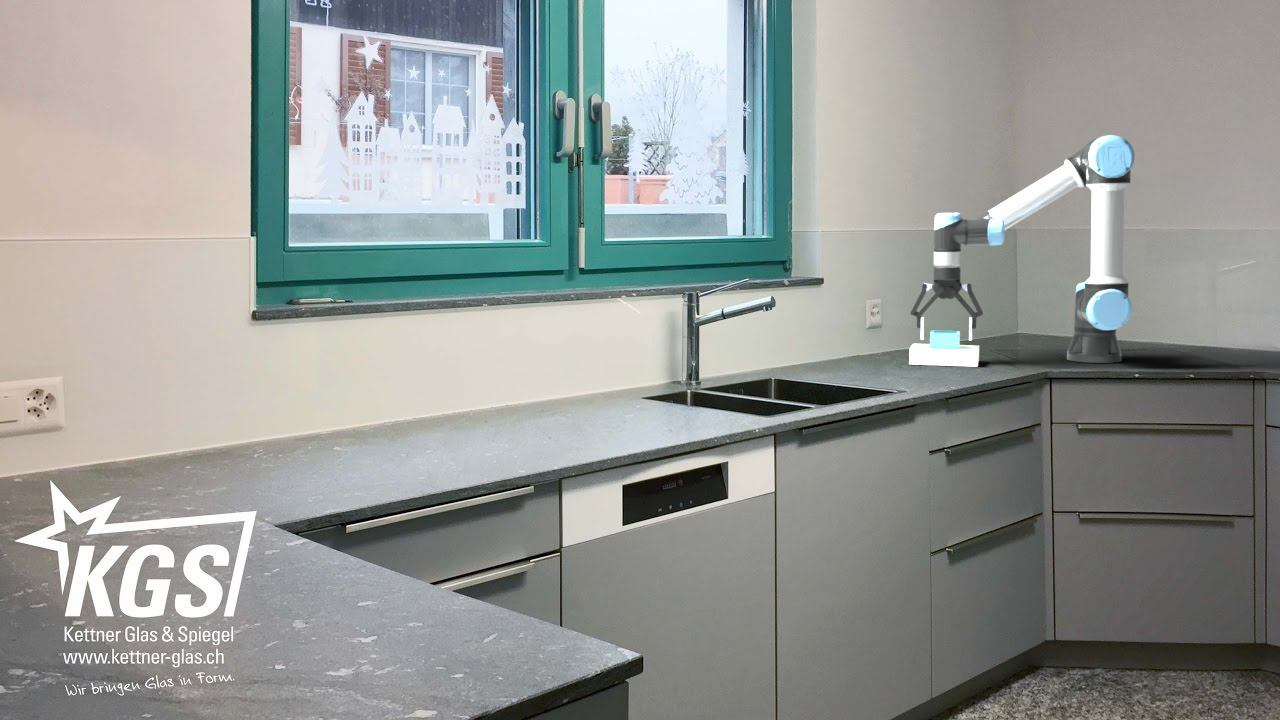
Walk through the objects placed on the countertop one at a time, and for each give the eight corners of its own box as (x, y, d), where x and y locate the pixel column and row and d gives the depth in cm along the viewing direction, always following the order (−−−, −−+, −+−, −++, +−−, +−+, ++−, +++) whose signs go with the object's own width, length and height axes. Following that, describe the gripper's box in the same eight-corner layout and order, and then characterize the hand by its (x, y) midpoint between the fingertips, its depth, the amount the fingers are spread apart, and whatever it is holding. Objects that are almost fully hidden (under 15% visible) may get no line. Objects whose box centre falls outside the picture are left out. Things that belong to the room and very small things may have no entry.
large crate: (978, 360, 356) (979, 345, 355) (977, 366, 343) (977, 350, 342) (912, 358, 361) (913, 343, 361) (909, 364, 348) (909, 348, 348)
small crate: (959, 358, 355) (960, 330, 354) (958, 361, 347) (958, 333, 346) (931, 357, 357) (932, 330, 356) (929, 360, 349) (930, 332, 348)
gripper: (992, 265, 349) (991, 338, 351) (904, 266, 356) (903, 337, 358) (991, 266, 341) (990, 341, 344) (901, 267, 349) (901, 340, 351)
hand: (946, 339), depth 351 cm, fingers open, 13 cm apart
